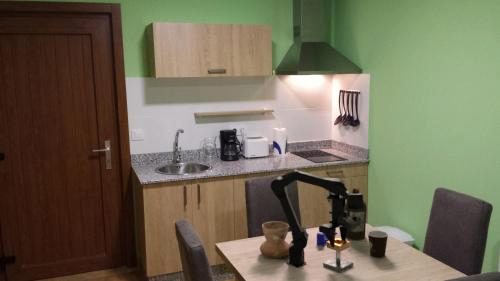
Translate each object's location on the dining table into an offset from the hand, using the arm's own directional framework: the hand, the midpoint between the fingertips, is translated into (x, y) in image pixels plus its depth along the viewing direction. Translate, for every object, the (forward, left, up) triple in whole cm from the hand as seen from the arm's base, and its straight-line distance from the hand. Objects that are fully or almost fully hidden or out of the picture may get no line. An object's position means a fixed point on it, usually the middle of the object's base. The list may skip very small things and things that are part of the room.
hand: (338, 244), depth 192 cm
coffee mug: (+23, -4, -10) cm, 25 cm away
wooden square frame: (0, 0, -1) cm, 1 cm away
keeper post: (0, 0, -10) cm, 10 cm away
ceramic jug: (-10, +28, -10) cm, 31 cm away
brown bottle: (+34, +16, -10) cm, 39 cm away
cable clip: (+18, +23, -10) cm, 31 cm away
